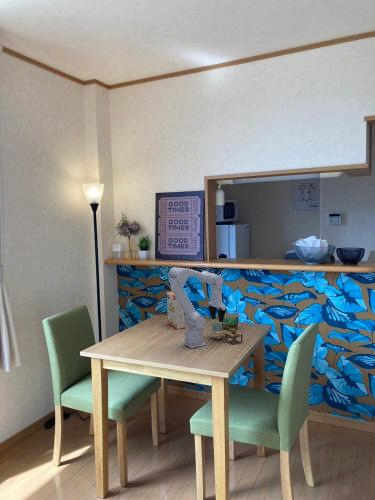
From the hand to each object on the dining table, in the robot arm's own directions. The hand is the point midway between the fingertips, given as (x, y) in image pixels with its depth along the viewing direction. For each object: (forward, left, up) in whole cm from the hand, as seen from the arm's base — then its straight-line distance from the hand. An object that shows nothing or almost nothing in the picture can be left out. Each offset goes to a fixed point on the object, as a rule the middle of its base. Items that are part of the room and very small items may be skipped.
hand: (217, 320), depth 227 cm
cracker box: (-8, +36, -11) cm, 38 cm away
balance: (+5, 0, -10) cm, 11 cm away
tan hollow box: (+4, -10, -10) cm, 15 cm away
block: (0, 0, -6) cm, 6 cm away
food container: (+15, +12, -11) cm, 22 cm away
